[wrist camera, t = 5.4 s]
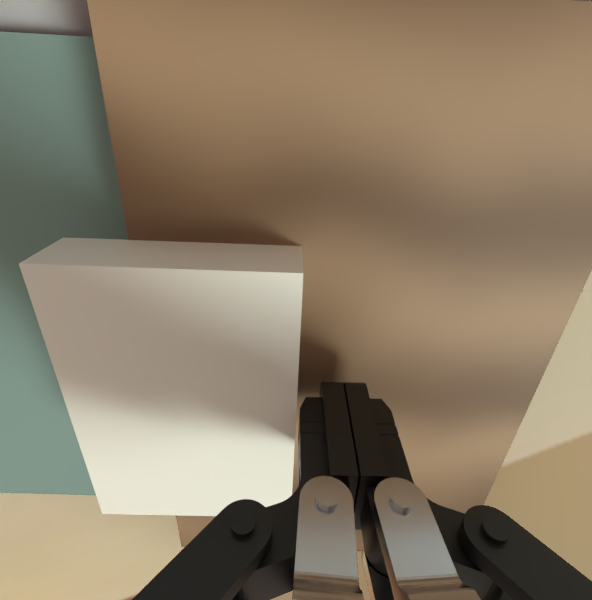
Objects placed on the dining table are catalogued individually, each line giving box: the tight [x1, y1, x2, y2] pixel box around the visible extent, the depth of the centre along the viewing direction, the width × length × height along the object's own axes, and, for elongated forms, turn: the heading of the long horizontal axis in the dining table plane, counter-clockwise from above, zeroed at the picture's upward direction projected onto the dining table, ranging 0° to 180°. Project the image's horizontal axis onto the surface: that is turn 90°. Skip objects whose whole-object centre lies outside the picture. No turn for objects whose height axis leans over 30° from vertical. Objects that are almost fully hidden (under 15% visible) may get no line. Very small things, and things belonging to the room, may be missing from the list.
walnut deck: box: [87, 0, 592, 551], centre depth 15 cm, size 22×14×2 cm, turn 177°
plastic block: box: [19, 237, 303, 516], centre depth 12 cm, size 10×7×2 cm
